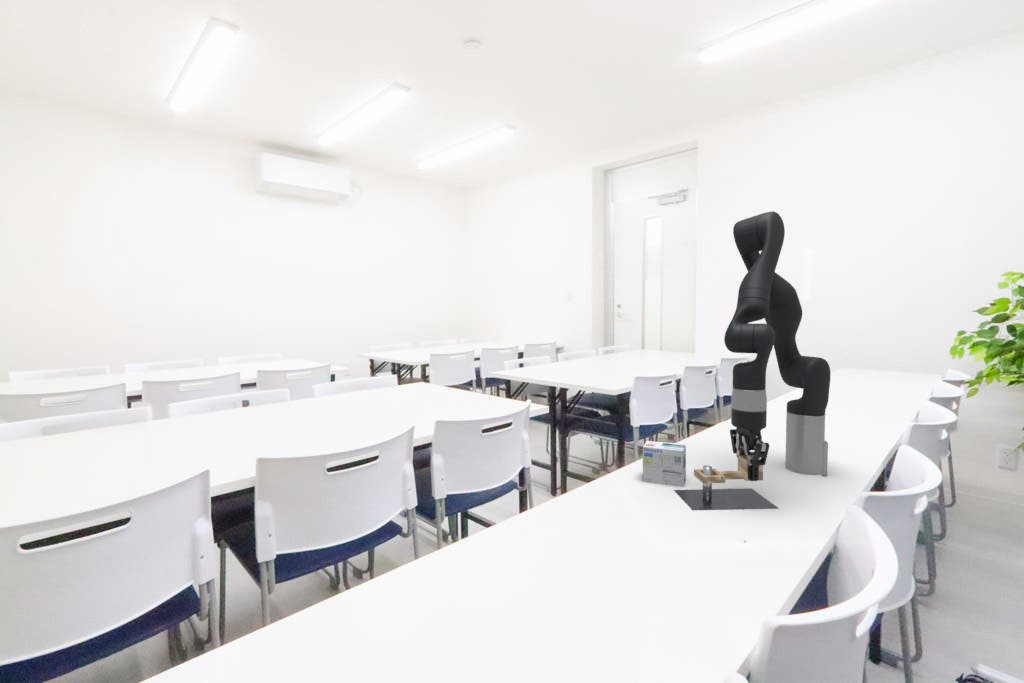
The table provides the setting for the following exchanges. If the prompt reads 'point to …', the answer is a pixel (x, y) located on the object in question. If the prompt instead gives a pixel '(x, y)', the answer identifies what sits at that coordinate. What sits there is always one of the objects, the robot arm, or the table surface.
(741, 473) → the tan wooden piece
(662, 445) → the light bulb box
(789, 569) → the table surface
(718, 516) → the table surface
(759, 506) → the post stand
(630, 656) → the table surface
